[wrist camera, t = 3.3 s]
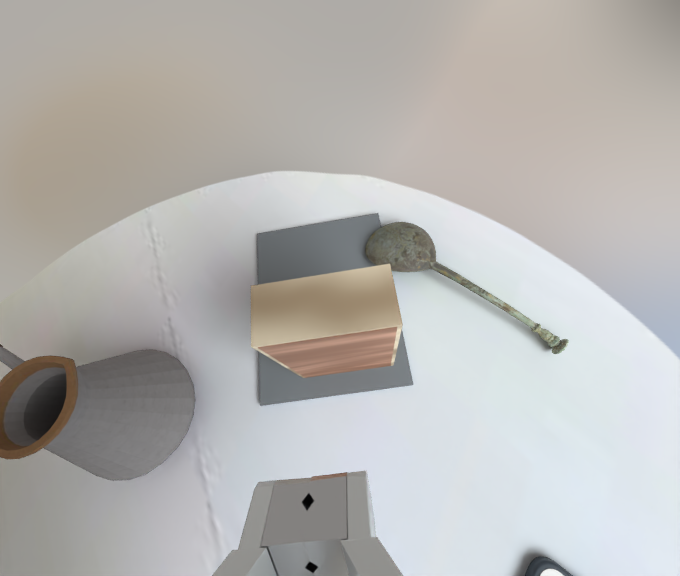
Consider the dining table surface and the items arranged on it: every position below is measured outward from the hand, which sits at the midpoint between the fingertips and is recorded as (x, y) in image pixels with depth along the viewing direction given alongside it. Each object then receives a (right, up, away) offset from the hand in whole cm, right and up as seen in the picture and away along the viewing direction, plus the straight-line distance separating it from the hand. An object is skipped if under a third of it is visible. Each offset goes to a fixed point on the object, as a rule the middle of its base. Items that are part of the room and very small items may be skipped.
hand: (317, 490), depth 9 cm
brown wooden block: (+1, -1, +23) cm, 23 cm away
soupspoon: (+13, +6, +25) cm, 29 cm away
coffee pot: (-22, -5, +26) cm, 34 cm away
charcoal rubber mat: (-1, +4, +26) cm, 27 cm away
